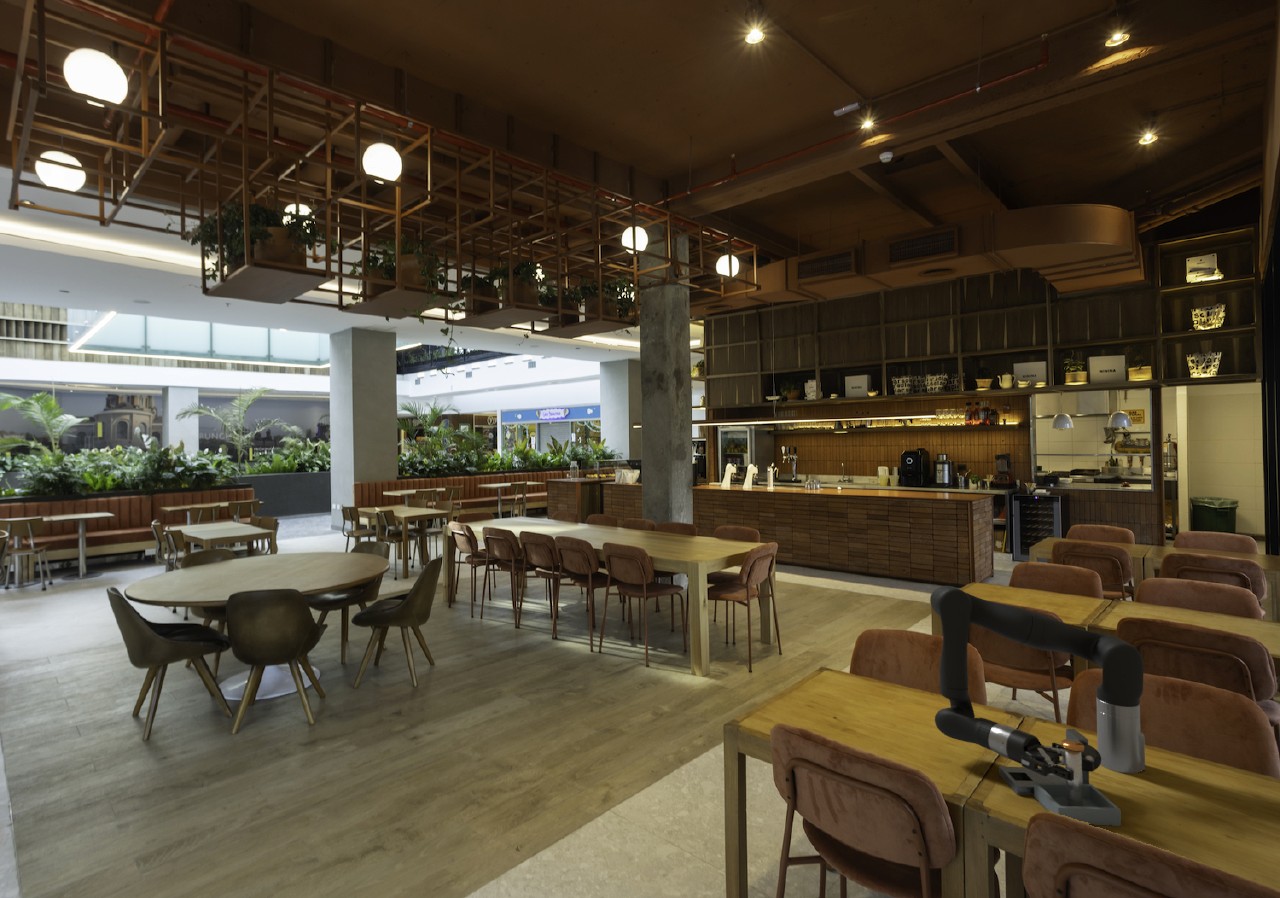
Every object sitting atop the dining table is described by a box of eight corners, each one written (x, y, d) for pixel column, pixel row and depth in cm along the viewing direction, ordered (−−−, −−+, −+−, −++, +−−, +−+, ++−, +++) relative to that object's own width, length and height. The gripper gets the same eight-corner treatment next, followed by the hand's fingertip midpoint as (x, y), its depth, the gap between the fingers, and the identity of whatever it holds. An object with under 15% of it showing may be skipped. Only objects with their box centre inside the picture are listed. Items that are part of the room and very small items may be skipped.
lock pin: (1076, 802, 153) (1073, 738, 153) (1091, 812, 149) (1088, 746, 149) (1059, 804, 153) (1056, 740, 153) (1074, 814, 148) (1071, 748, 149)
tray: (1092, 799, 156) (1091, 784, 156) (1120, 826, 145) (1120, 809, 145) (1034, 797, 157) (1034, 782, 157) (1058, 823, 146) (1058, 807, 146)
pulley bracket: (1079, 776, 166) (1078, 725, 166) (1103, 798, 156) (1102, 743, 156) (999, 774, 168) (997, 724, 168) (1017, 795, 158) (1016, 741, 158)
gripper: (996, 735, 160) (1065, 763, 146) (1030, 723, 167) (1100, 748, 152) (996, 766, 160) (1066, 796, 146) (1031, 752, 167) (1100, 780, 152)
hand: (1083, 771), depth 149 cm, fingers open, 8 cm apart
